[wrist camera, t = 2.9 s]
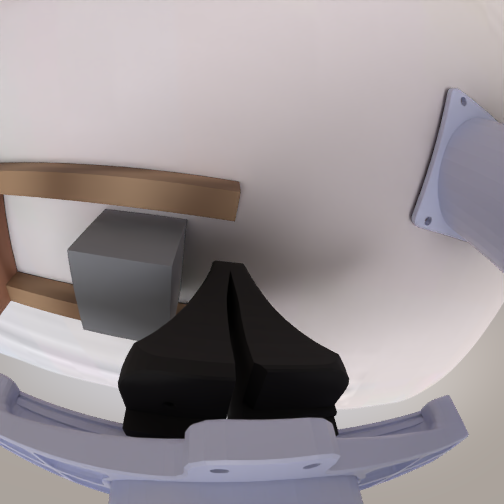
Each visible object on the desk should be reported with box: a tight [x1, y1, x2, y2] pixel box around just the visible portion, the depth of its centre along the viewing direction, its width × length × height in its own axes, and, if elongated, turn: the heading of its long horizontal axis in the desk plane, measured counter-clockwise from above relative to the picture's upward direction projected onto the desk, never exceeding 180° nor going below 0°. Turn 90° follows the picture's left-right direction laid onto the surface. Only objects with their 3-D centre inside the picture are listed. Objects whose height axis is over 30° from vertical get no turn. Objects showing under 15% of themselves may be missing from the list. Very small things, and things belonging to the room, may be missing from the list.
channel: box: [0, 163, 241, 320], centre depth 11 cm, size 14×8×3 cm, turn 78°
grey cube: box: [67, 209, 187, 341], centre depth 11 cm, size 4×4×4 cm
